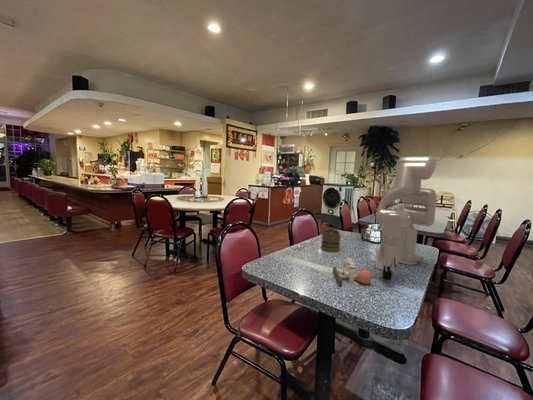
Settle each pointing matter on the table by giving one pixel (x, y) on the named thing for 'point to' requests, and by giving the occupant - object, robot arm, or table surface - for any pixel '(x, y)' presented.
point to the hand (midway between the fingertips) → (386, 279)
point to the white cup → (378, 263)
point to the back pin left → (351, 272)
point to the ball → (364, 276)
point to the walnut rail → (337, 277)
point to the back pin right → (348, 264)
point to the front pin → (346, 273)
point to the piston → (331, 241)
